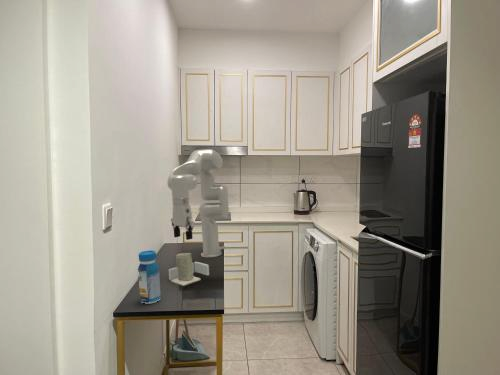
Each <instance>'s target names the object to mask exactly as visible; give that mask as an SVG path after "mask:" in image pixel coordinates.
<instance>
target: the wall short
mask: <svg viewBox="0 0 500 375" xmlns="http://www.w3.org/2000/svg"><path fill="white" fill-rule="evenodd" d="M193 263H194V273H197V274H202V275H205V276H210V266H209V264H206V263H204V262H203V263H202V262H199V261H194V262H193Z"/></svg>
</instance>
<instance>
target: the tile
mask: <svg viewBox="0 0 500 375" xmlns="http://www.w3.org/2000/svg"><path fill="white" fill-rule="evenodd" d="M193 277H194V278H193V279H191V280H190V281H184V280H178V278H176V279H173V280H170V282H172V283H174V284H176V285H180V286H183V287H185V286H187V285H190V284H193V283H196V282H198V281H199V282H200V281H201V278H200V277H197V276H194V275H193Z"/></svg>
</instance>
